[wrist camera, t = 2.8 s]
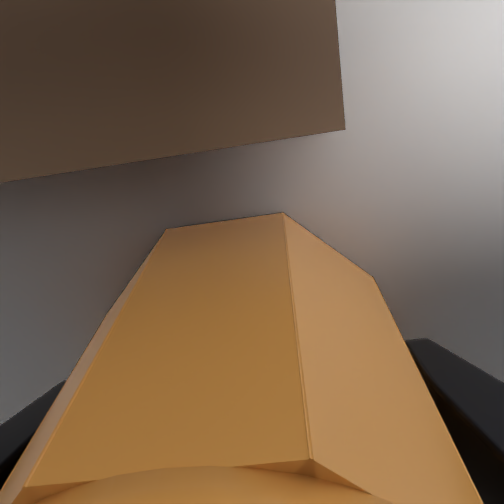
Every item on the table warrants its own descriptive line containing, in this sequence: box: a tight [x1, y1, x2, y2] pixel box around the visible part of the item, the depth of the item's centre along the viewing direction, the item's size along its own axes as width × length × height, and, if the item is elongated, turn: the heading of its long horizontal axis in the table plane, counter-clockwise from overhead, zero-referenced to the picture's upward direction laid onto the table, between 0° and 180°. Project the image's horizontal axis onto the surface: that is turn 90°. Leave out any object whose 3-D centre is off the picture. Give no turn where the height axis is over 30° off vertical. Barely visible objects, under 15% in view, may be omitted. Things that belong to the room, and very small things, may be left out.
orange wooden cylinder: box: [0, 212, 484, 504], centre depth 6 cm, size 5×5×6 cm
